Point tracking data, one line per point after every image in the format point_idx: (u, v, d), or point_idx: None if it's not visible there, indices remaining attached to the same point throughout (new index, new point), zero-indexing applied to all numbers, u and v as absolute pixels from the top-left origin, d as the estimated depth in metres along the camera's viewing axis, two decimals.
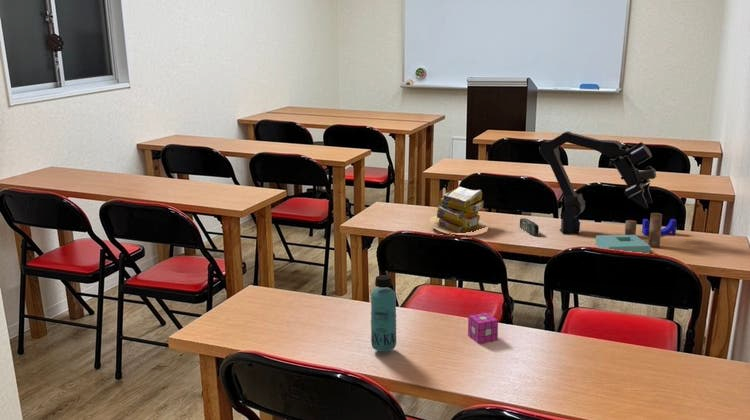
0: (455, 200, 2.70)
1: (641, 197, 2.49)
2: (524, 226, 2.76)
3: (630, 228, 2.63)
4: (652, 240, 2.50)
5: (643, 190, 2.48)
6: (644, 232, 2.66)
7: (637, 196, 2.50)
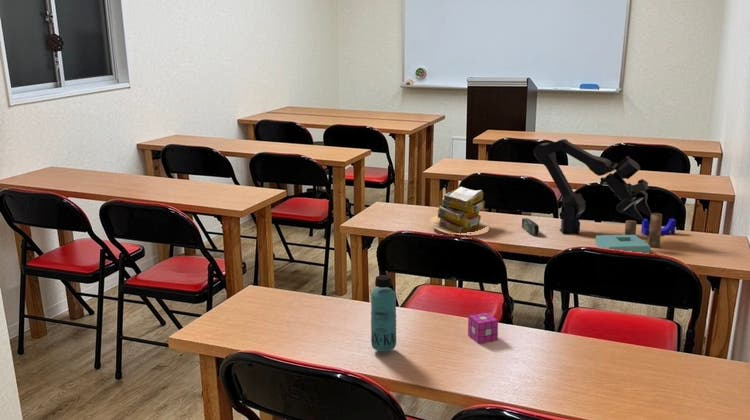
0: (456, 200, 2.70)
1: (634, 211, 2.48)
2: (525, 226, 2.76)
3: (630, 228, 2.63)
4: (652, 240, 2.50)
5: (634, 203, 2.46)
6: (643, 232, 2.67)
7: (630, 210, 2.49)
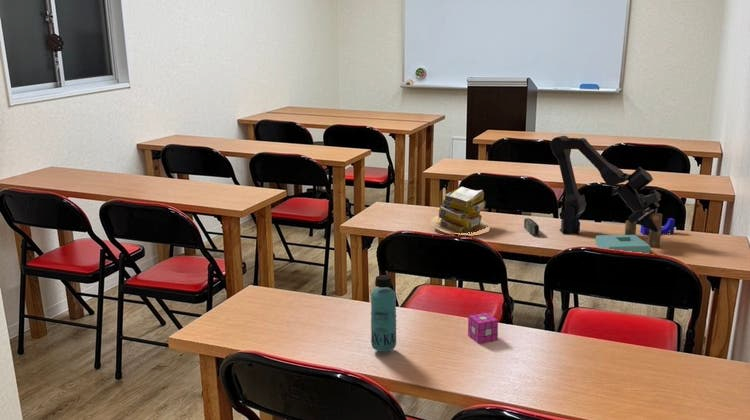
0: (457, 200, 2.70)
1: (648, 221, 2.47)
2: (527, 226, 2.76)
3: (630, 228, 2.63)
4: (652, 240, 2.50)
5: (649, 213, 2.46)
6: (643, 231, 2.67)
7: (645, 220, 2.49)
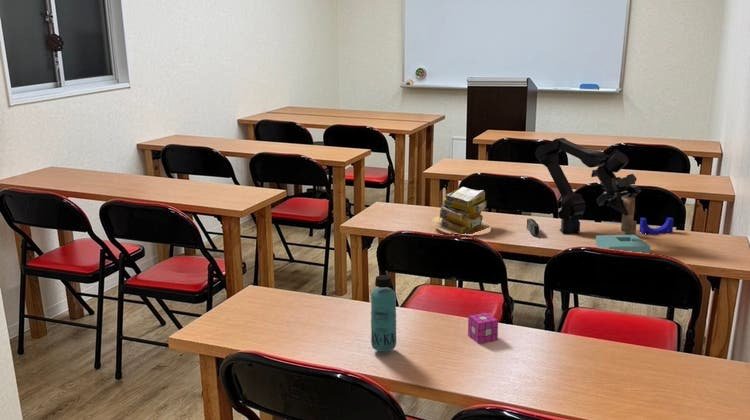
0: (458, 200, 2.70)
1: (619, 204, 2.46)
2: (528, 226, 2.75)
3: None
4: (623, 224, 2.47)
5: (618, 196, 2.44)
6: (642, 231, 2.68)
7: (616, 203, 2.47)
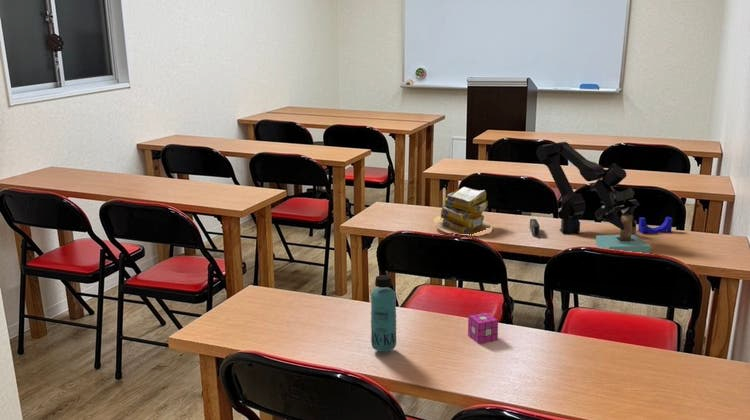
0: (459, 200, 2.70)
1: (615, 218, 2.46)
2: (531, 226, 2.75)
3: None
4: None
5: (614, 211, 2.45)
6: (641, 230, 2.69)
7: (612, 217, 2.48)
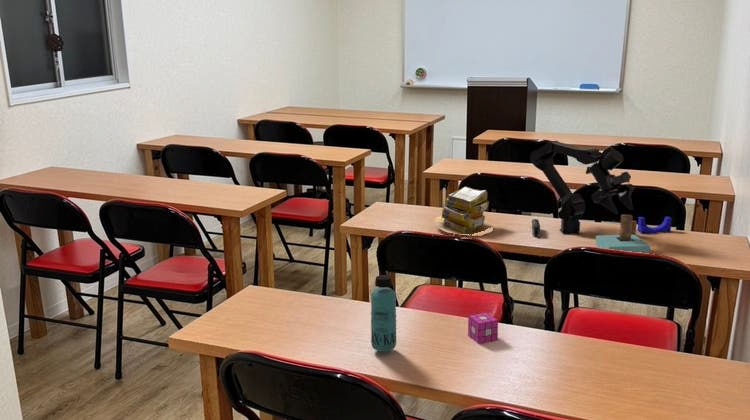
0: (460, 200, 2.70)
1: (609, 202, 2.47)
2: (532, 226, 2.75)
3: None
4: None
5: (609, 194, 2.46)
6: (640, 230, 2.70)
7: (606, 201, 2.48)
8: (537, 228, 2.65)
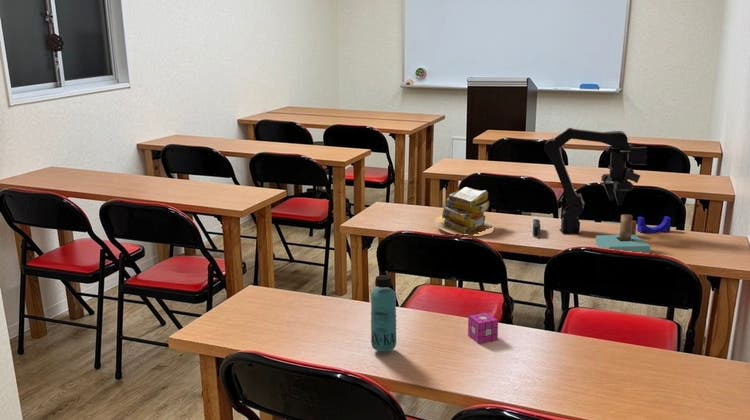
0: (461, 200, 2.70)
1: (623, 194, 2.58)
2: None
3: None
4: None
5: None
6: (640, 230, 2.70)
7: (620, 192, 2.58)
8: (537, 228, 2.65)
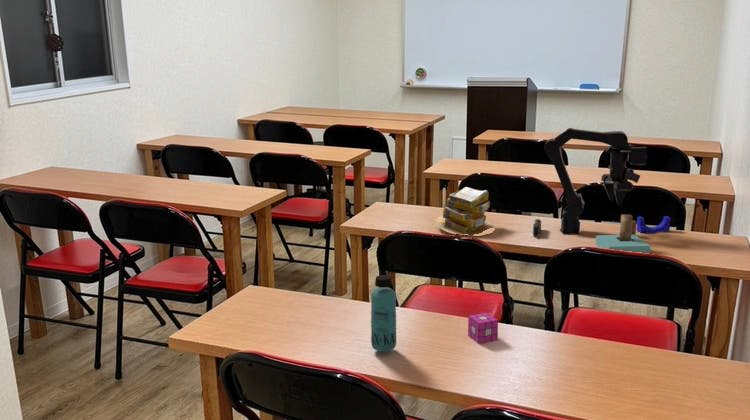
0: (461, 200, 2.70)
1: (623, 194, 2.58)
2: None
3: None
4: None
5: None
6: (639, 229, 2.70)
7: (620, 192, 2.58)
8: (537, 228, 2.65)
